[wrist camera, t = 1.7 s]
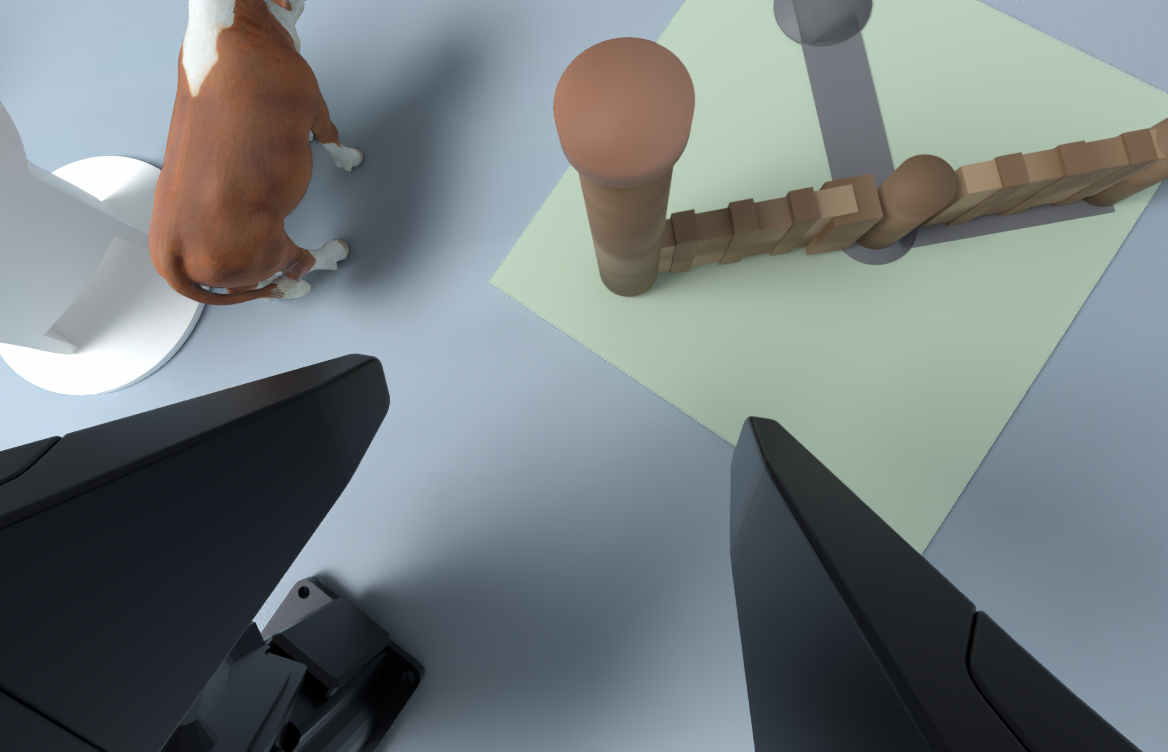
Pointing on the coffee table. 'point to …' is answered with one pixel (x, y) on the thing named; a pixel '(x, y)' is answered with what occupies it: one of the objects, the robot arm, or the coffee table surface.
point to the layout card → (856, 274)
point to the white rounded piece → (83, 273)
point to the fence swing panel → (644, 172)
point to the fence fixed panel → (1018, 182)
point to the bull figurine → (241, 156)
